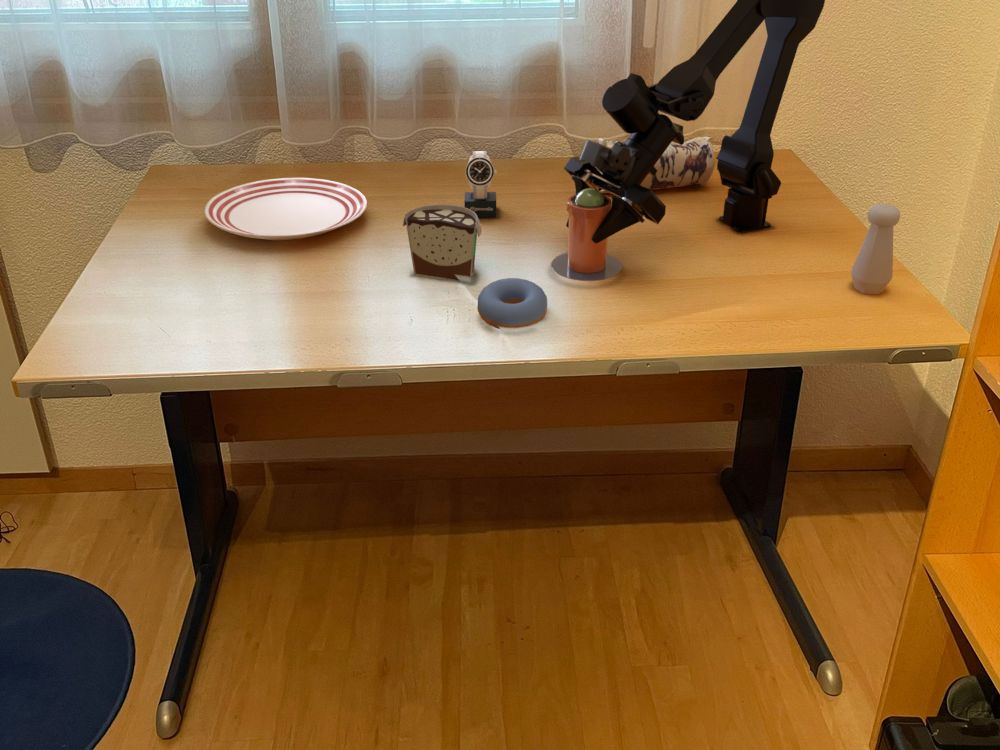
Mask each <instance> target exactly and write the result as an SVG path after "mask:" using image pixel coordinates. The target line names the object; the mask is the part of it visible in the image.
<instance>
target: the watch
mask: <svg viewBox="0 0 1000 750" xmlns="http://www.w3.org/2000/svg"><path fill="white" fill-rule="evenodd" d="M497 174H498V171H497V169H495V166H494V164H493V163H492V161H491V158H490V155H487V151H486V150H474V151H472V155H470V156H469V159H468V163H466V166H465V177H466V179H467V182H468V184H469V187H470V190H471V191H465V192H464V207H465V208H468V209H470V210H472V211H473V212H475V213H476V215H477V217H478V219H497V191H488V190H490V189H491V185H492V183H493V179H494V177H495V175H497ZM472 190H473V191H472Z"/></svg>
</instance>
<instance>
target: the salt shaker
mask: <svg viewBox="0 0 1000 750" xmlns="http://www.w3.org/2000/svg"><path fill="white" fill-rule="evenodd" d="M900 218H901V211H900V209H899V208H898V207H897V206H895V205H892V204H889V203H876V204H874V205H872V206H871V207H870V208H869V209H868V212H867V220H868V222H869V223H870V226H869V228H868V230H867V232H866V234H865V237H864V239H863V242H862V244H861V247H860V249H859V251H858V253H857V256H856V258H855V261H854V262H853V265H852V268H851V270H850V275H851V280H852V283H853V286H854V287H853V288H854V290H857V291H858V292H860V293H862V294H865V295H866V294H867V295H878V294H881V292H883V291H884V290H885V289H886V288H887V286H889V284H890V282H891V281H892V279H893V272H894V271H893V267H894V265H893V264H894V227H895V226H896V225H897V224H898V223H899V222H900Z"/></svg>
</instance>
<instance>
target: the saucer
mask: <svg viewBox="0 0 1000 750" xmlns="http://www.w3.org/2000/svg"><path fill="white" fill-rule="evenodd" d="M567 258H568V251H567V252H564V253H561V254H559V255H556V256H555V258H553V259H552V261H551V264H550V267H551V269H552V270H553V272H554V273H556V274H557V275H559V276H561V277H564V278H565V279H570V280H574V281H583V282H595V281H596V282H597V281H603V280H604V281H605V280H608V279H611V278H613V277H615V276H617V275H618V274H619V273H621V271H622V270H623V264H622V262H621V261H620V259H618V258H616V256H613V255H611V254H609V253H607V258H606V267H605V269H603V270H602V271H599V272H596V273H580V272H576V271H573V270H571V269H570V268H569V267H568V265H567Z"/></svg>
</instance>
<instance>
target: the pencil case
mask: <svg viewBox="0 0 1000 750" xmlns="http://www.w3.org/2000/svg"><path fill="white" fill-rule="evenodd" d="M714 140H715V138H714V137H710V136H697V137H695V138H690V139H685V140H684V144H682V145H680V144H678V143H675V142H673V141H672V142H671V143H670V145H669V146H668V148H667V149H666V150H665V152H664V153H663V154H662V156H661V157H660V159H659V160H658V161H657V163H656V164H655V165H654V167H655V168H656V170H657V172H656V174H655V175H654V176H652V175H650V174H648V175H647V176H646V178H645V179H644V180H643V182H642V183H641V186H643V187H645V188H647V189H649V190H651V191H654V190H661V189H667V190H668V189H673V188H679V187H686V186H687V187H688V186H696V187H697V186H698V187H699V186H705V185H707V184H708V182H710V179H711V177H712V175H713V173H714V171H715V170H714V169H715V165H716V156H715V150H714V147H713V144H712V143H711V142H710V141H714ZM597 141H598V143H599V144H602V145H605V146H607V147H610V148H612V147H613V145H614V144H615V143H616V142H618V141H619V140H618V141H616V140H615V139H610V140H609V141H608V140H607V141H605V140H604V139H603V138H600V137H598V140H597ZM595 168H596V167H595ZM596 169H597V168H596ZM597 170H598V169H597ZM598 171H599V170H598ZM599 172H600V173H601V174H603V173H602V172H601V171H599ZM608 186H610V185H608ZM610 187H611V186H610ZM619 191H620V192H621V190H619ZM599 192H600V193H601V194H610V193H609V192H607V191H605V190H603V189H602V190H601V191H599Z"/></svg>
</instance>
